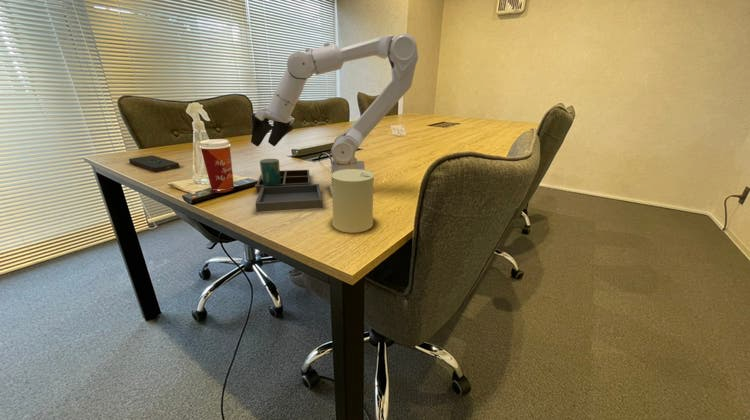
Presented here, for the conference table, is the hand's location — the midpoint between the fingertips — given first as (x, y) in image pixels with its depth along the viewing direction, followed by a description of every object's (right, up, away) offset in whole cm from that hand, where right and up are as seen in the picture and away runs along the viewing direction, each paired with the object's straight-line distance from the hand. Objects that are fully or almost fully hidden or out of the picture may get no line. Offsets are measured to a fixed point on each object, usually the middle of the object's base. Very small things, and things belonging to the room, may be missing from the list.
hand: (263, 144), depth 82 cm
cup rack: (+3, -10, +11) cm, 15 cm away
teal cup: (0, -11, +7) cm, 13 cm away
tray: (+8, -16, -2) cm, 18 cm away
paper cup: (-13, -12, +5) cm, 19 cm away
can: (+25, -21, -13) cm, 36 cm away
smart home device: (-49, -2, +27) cm, 56 cm away
